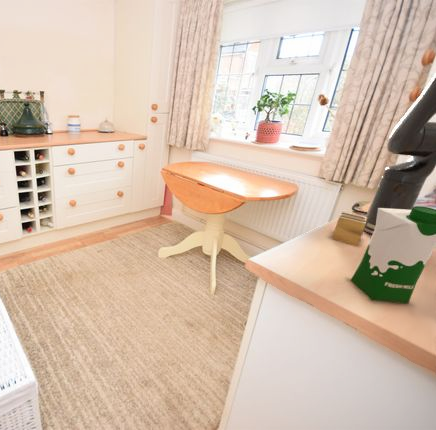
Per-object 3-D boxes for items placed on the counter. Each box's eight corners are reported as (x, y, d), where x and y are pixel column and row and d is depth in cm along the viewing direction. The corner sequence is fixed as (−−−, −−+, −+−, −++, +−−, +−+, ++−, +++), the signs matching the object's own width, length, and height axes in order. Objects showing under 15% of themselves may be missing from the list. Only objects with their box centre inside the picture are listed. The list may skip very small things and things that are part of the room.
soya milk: (370, 303, 60) (412, 213, 52) (343, 277, 68) (376, 196, 60) (417, 307, 59) (466, 216, 51) (383, 280, 67) (421, 199, 59)
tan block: (334, 232, 90) (342, 211, 88) (359, 239, 87) (368, 217, 84) (331, 238, 86) (339, 216, 84) (357, 246, 83) (366, 223, 80)
